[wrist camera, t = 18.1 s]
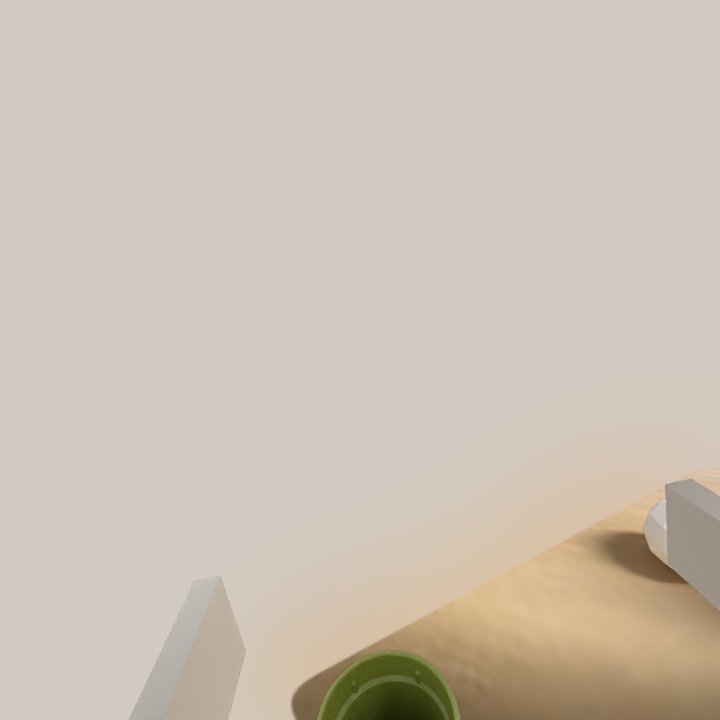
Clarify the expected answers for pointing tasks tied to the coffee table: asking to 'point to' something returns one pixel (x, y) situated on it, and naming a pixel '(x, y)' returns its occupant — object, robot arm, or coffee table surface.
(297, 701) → the coffee table surface
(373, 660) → the plant pot
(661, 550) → the geometric ball
